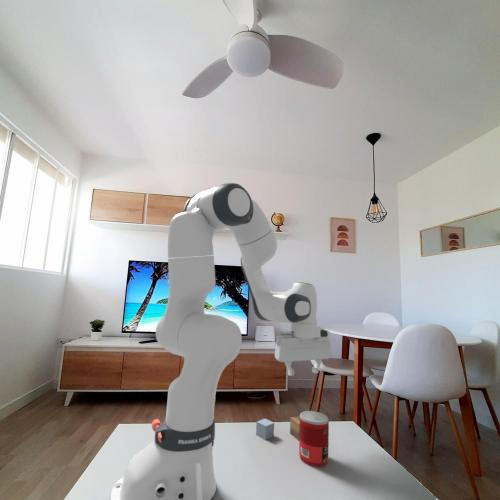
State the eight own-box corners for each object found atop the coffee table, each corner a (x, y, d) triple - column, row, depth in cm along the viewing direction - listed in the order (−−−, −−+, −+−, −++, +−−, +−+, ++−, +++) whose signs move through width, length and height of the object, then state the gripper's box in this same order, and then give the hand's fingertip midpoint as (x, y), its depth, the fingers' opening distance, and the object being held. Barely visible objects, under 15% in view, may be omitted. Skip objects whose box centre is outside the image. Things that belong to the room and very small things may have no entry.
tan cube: (298, 441, 88) (299, 424, 88) (290, 433, 92) (290, 417, 93) (311, 438, 90) (312, 421, 90) (302, 431, 94) (303, 415, 95)
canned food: (329, 469, 74) (329, 424, 76) (298, 464, 76) (299, 419, 77) (327, 453, 81) (327, 412, 83) (299, 449, 83) (300, 409, 85)
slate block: (265, 440, 87) (265, 426, 88) (256, 435, 90) (256, 421, 91) (273, 436, 90) (274, 422, 91) (264, 431, 93) (264, 418, 93)
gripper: (281, 333, 89) (280, 379, 87) (333, 331, 96) (334, 374, 94) (272, 330, 94) (270, 373, 92) (322, 329, 102) (322, 369, 100)
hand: (303, 374), depth 94 cm, fingers open, 8 cm apart
